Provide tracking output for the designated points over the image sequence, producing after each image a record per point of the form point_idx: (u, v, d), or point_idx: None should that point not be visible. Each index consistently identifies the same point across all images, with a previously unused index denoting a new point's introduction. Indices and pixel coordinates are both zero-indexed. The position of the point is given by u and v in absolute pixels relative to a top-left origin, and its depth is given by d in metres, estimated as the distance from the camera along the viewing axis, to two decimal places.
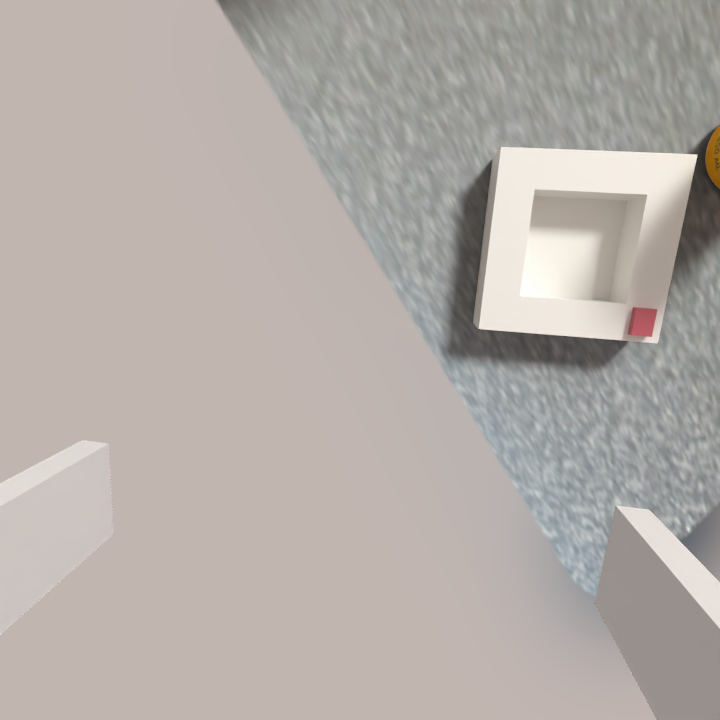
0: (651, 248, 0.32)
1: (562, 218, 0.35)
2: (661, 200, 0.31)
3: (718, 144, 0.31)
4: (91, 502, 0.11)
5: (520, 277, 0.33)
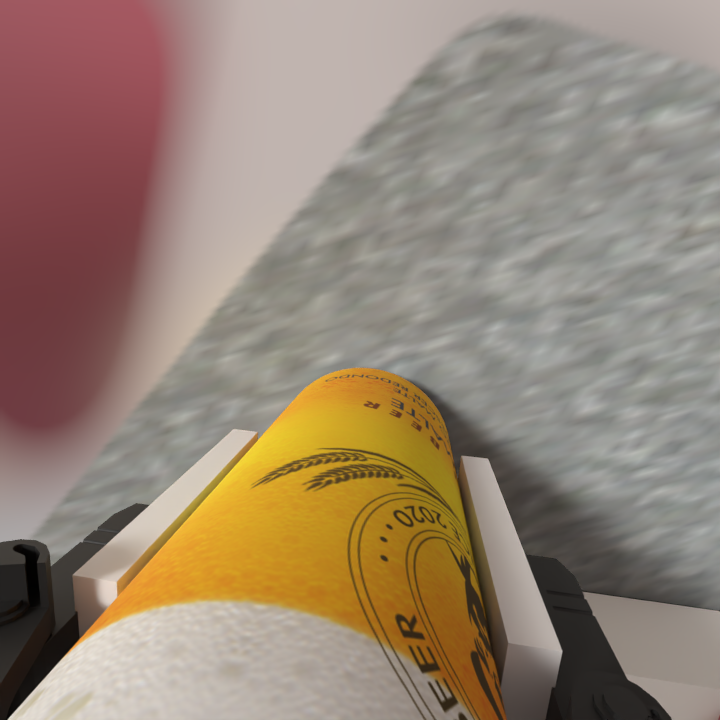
0: None
1: None
2: None
3: None
4: None
5: None
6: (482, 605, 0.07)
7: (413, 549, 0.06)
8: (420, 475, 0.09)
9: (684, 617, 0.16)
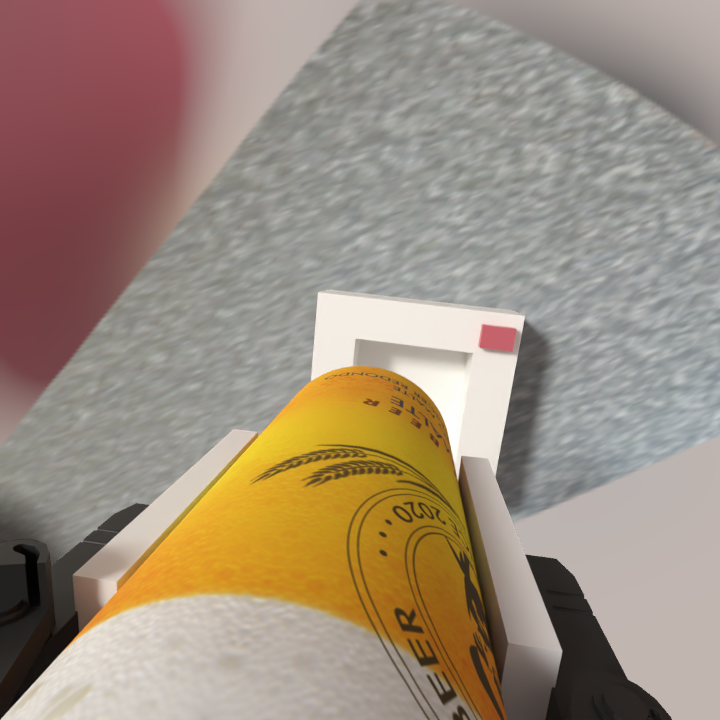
0: (412, 330, 0.28)
1: None
2: (362, 323, 0.29)
3: None
4: None
5: None
6: (481, 601, 0.07)
7: (412, 544, 0.06)
8: (419, 471, 0.09)
9: (483, 307, 0.30)
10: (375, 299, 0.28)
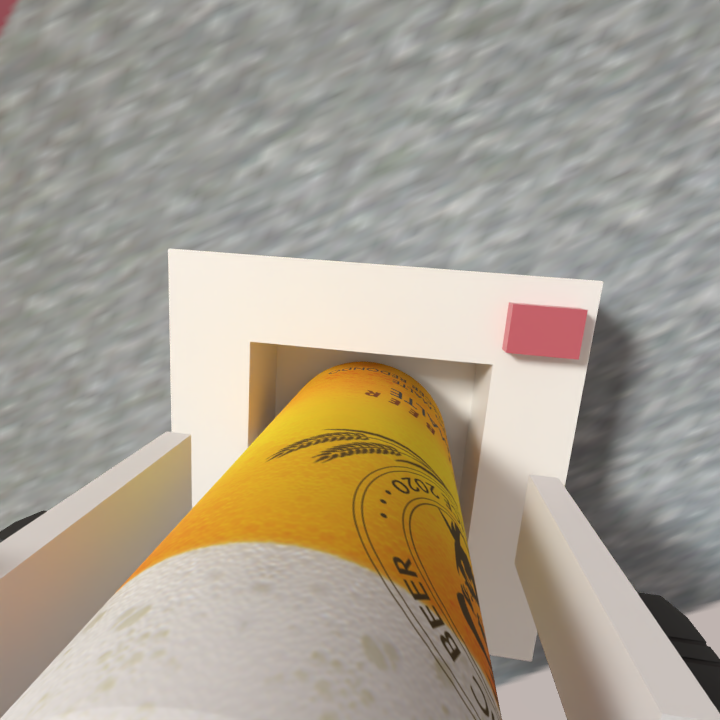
0: (364, 320, 0.14)
1: None
2: (261, 311, 0.14)
3: None
4: (178, 488, 0.12)
5: None
6: (470, 565, 0.08)
7: (408, 510, 0.07)
8: (416, 453, 0.10)
9: None
10: (284, 259, 0.14)
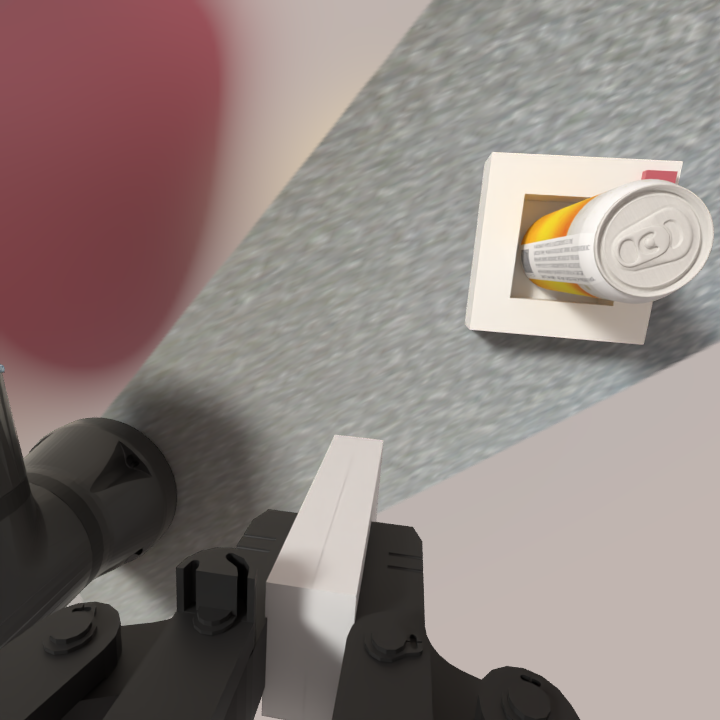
0: (578, 181, 0.32)
1: None
2: (532, 179, 0.32)
3: None
4: None
5: (593, 306, 0.34)
6: None
7: None
8: None
9: None
10: (544, 155, 0.32)
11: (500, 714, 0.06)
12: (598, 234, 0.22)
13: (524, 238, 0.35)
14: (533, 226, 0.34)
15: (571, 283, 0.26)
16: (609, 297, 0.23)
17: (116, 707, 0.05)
